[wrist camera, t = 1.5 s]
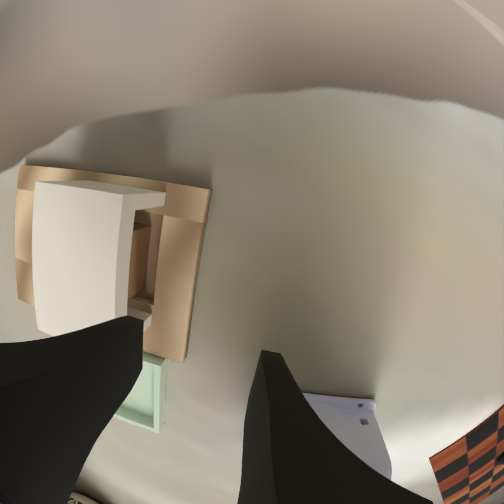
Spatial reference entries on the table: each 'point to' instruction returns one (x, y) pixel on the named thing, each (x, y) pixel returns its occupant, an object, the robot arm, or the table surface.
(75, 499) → the planter
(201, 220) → the puzzle board
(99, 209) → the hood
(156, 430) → the tray
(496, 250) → the table surface
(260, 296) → the table surface
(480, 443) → the chessboard
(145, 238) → the block
